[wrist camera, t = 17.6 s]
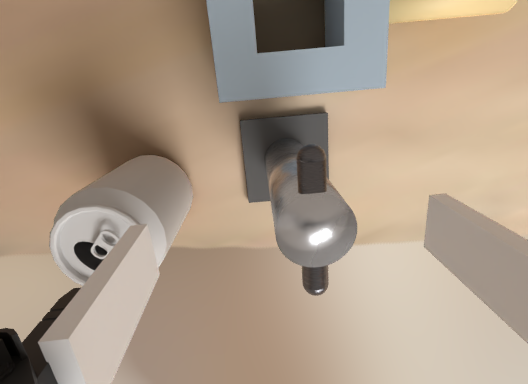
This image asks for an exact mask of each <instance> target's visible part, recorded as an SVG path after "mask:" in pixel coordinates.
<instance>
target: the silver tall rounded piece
mask: <svg viewBox="0 0 528 384" xmlns="http://www.w3.org/2000/svg"><path fill="white" fill-rule="evenodd" d="M265 163H266V170H267V177H268V185H269V192H270V199H271V206H272V213H273V220H274V227H275V234H276V241H277V244H278V247H279V249H280V250H281V252H282V253H283V254H284V255H285V257H287V258H288V259H289V260H290V261H292V262H294V263H296V264H298V265H301V266H302V279H303V286H304V288H305V290H306V291H307V292H308V293H309V294H311V295H321V294H323V293H324V292H325V291H326V290H327V287H328V265H329V264H332V263H334V262H336V261H338V260H339V259H340V258H342V257H343V256H344V255H345V254H346V253H347V252H348V251H349V250H350V248H351V247H352V245H353V243H354V241H355V238H356V234H357V222H356V218H355V215H354V213H353V211H352V210H351V208H350V207H349V206H348V204H347V203H346V202H345V201H344V199H343V198H342V197H341V195H340V194H339V193H338V191H337V190H336V189H335V187H334V186H333V185H332V184H331V182H330V181H329V180H328V178H327V174H326V154H325V152H324V150H323V149H322V148H321V147H320V146H318V145H316V144H307V145H305V146H302V145H301V144H300V143H299V142H298V141H296V140H293V139H288V138H287V139H280V140H278V141H276V142H274V143H273V144H272V145H271V146H270V147H269V149H268V150H267V153H266V156H265Z"/></svg>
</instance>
